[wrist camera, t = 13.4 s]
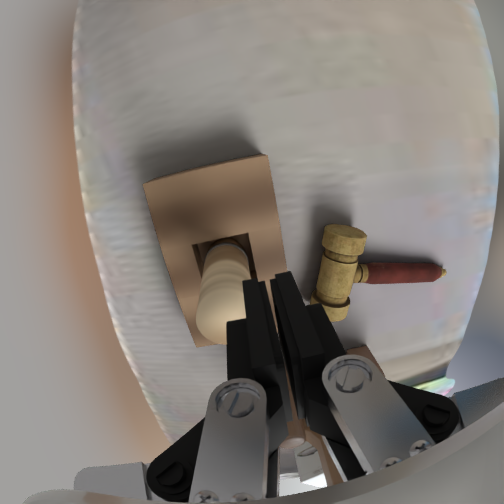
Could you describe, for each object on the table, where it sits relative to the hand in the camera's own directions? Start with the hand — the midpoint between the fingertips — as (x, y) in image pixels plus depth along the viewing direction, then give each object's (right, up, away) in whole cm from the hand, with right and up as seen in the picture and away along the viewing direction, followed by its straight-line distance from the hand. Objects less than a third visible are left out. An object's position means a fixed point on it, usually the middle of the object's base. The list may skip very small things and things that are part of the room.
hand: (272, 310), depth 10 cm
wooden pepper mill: (-3, +2, +19) cm, 19 cm away
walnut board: (-3, +2, +20) cm, 20 cm away
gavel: (+16, 0, +23) cm, 29 cm away
